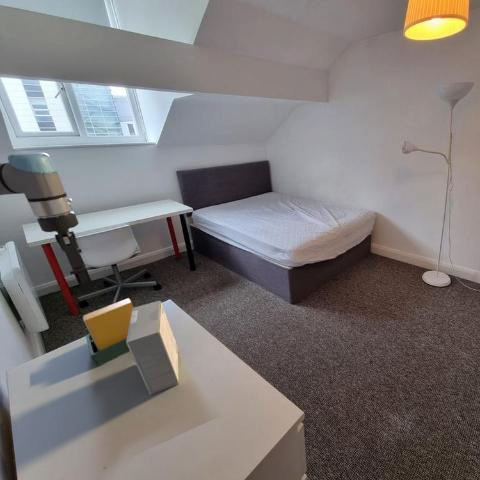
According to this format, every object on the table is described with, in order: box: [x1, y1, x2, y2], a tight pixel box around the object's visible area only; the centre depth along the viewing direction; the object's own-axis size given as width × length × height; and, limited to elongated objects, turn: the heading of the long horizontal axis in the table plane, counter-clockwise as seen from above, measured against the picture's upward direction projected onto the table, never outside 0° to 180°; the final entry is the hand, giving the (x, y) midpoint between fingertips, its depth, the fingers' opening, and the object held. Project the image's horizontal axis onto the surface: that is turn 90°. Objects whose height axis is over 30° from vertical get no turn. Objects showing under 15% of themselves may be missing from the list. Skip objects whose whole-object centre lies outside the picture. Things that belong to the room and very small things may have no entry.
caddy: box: [85, 333, 130, 368], centre depth 92 cm, size 12×16×5 cm
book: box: [82, 297, 134, 351], centre depth 88 cm, size 4×12×15 cm, turn 135°
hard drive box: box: [126, 300, 180, 396], centre depth 78 cm, size 16×8×20 cm, turn 27°
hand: (85, 281), depth 80 cm, fingers open, 13 cm apart
